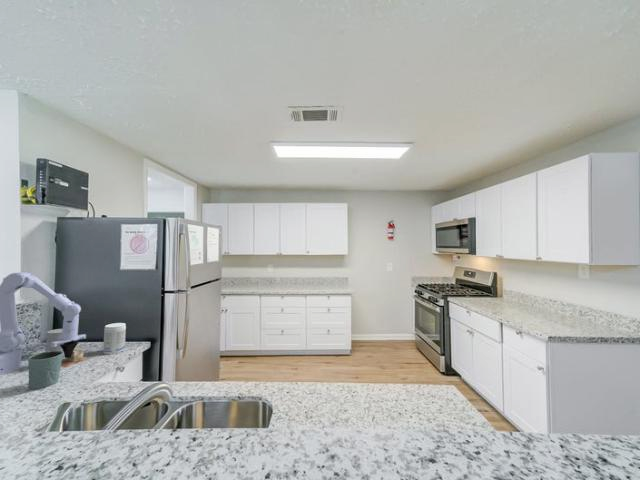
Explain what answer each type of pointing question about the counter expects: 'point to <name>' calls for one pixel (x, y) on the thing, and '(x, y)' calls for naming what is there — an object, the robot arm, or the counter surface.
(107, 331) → the supplement tub
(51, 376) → the green plant pot
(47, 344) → the grey marbled cylinder
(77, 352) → the birch block
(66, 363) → the board
